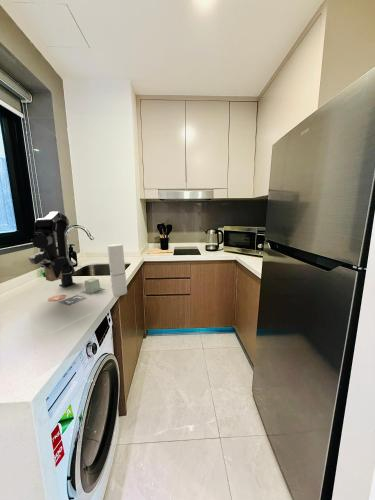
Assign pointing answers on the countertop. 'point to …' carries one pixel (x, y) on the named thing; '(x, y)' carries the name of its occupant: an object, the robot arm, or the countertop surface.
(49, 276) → the walnut block
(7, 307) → the countertop surface
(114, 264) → the tall white block
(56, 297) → the coaster
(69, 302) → the tile
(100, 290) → the code tile
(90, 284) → the sage block
